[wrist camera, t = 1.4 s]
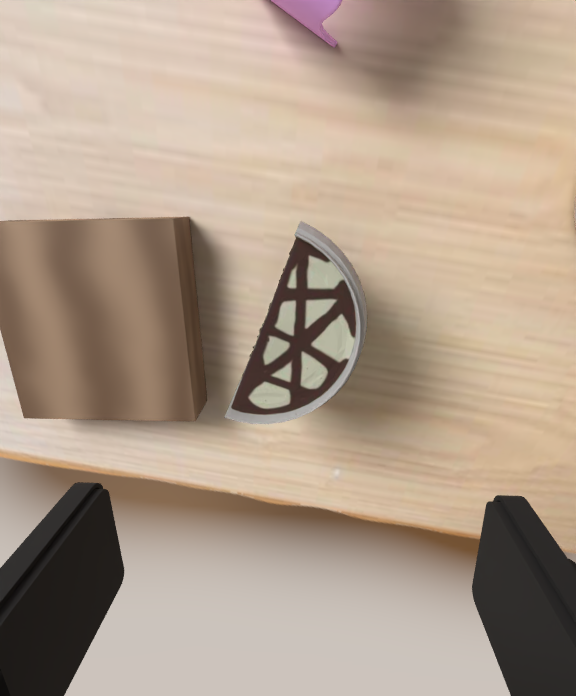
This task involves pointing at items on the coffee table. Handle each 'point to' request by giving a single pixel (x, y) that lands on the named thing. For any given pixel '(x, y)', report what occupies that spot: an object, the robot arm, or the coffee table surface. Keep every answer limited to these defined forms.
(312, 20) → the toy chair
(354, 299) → the food container
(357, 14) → the coffee table surface
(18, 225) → the walnut block
